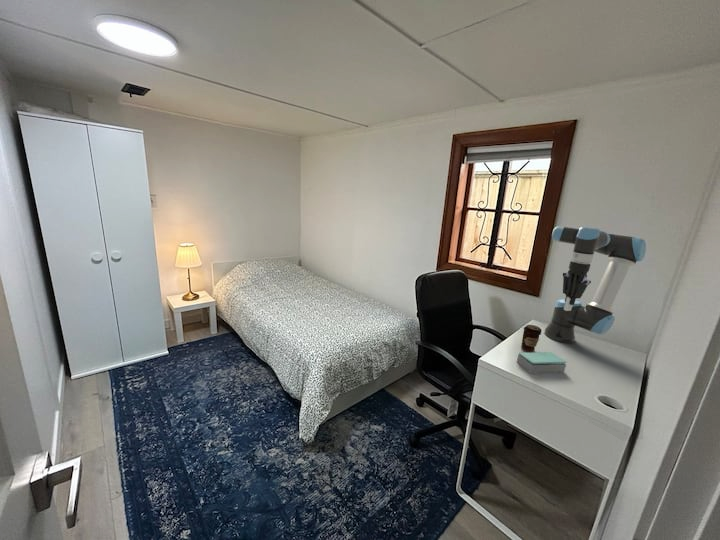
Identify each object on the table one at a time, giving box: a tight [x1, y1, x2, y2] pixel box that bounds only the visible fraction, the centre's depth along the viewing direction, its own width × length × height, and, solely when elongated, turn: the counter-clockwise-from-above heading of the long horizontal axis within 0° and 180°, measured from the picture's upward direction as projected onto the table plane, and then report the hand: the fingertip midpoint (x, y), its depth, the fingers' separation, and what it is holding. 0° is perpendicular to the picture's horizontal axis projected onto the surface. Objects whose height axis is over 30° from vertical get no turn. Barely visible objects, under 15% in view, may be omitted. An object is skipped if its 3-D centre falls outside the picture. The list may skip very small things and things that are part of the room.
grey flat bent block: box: [516, 354, 567, 374], centre depth 141 cm, size 18×9×4 cm, turn 100°
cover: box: [518, 351, 567, 364], centre depth 140 cm, size 18×9×1 cm, turn 100°
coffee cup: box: [520, 324, 543, 353], centre depth 155 cm, size 9×8×13 cm
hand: (567, 310), depth 140 cm, fingers closed
